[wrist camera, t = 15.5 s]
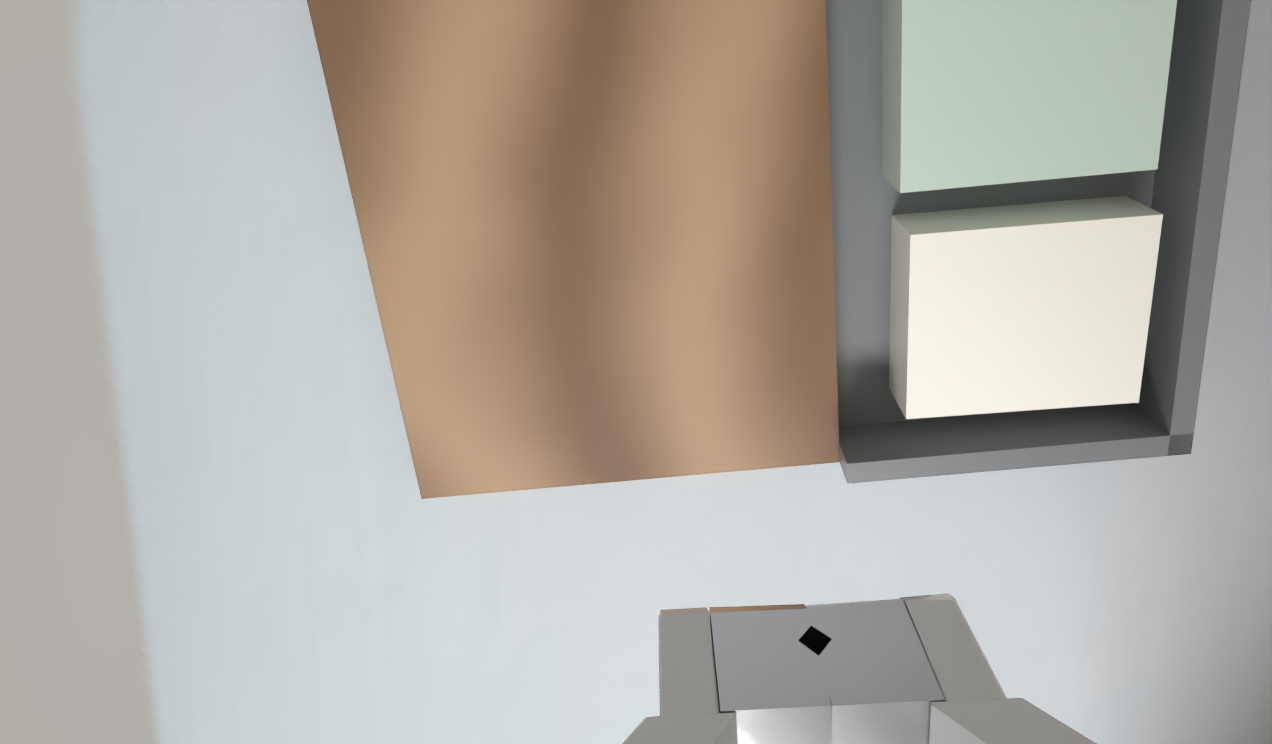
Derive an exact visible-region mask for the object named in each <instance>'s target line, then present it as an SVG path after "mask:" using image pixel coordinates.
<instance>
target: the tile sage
mask: <svg viewBox="0 0 1272 744" xmlns="http://www.w3.org/2000/svg"><path fill="white" fill-rule="evenodd" d="M1176 6H1177V0H882V176H883V177H884V178H885V179H886V180H887V181H888V182H889V183H890V184H891V185H892V186H893V187H894V188H895V189H896V190H897V191H898V192H900V193H907V192H918V191H929V190H940V189H951V188H961V187H972V186H983V185H994V184H1005V183H1015V182H1026V181H1037V180H1048V179H1059V178H1070V177H1080V176H1091V175H1102V174H1113V173H1124V172H1134V171H1145V170H1156V169H1158V161H1159V153H1160V144H1161V135H1162V127H1163V118H1164V109H1165V101H1166V92H1167V84H1168V75H1169V66H1170V58H1171V49H1172V40H1173V32H1174V23H1175V14H1176Z"/></svg>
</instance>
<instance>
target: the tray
mask: <svg viewBox="0 0 1272 744" xmlns="http://www.w3.org/2000/svg"><path fill="white" fill-rule="evenodd" d="M825 2H826V35H827V67H828V100H829V132H830V164H831V197H832V229H833V262H834V294H835V327H836V359H837V392H838V424H839V456H840V464H841V467H842V470H843V472H844V475H845V478H846V480H847V483H858V482H869V481H881V480H893V479H904V478H916V477H927V476H939V475H950V474H962V473H974V472H985V471H997V470H1008V469H1020V468H1031V467H1043V466H1054V465H1066V464H1078V463H1089V462H1101V461H1112V460H1124V459H1135V458H1147V457H1159V456H1170V455H1182V454H1191V449H1192V441H1193V434H1194V426H1195V419H1196V411H1197V404H1198V396H1199V389H1200V381H1201V374H1202V366H1203V358H1204V351H1205V343H1206V336H1207V328H1208V321H1209V313H1210V306H1211V298H1212V291H1213V283H1214V275H1215V268H1216V260H1217V253H1218V245H1219V238H1220V230H1221V223H1222V215H1223V208H1224V200H1225V192H1226V185H1227V177H1228V170H1229V162H1230V155H1231V147H1232V140H1233V132H1234V125H1235V117H1236V109H1237V102H1238V94H1239V87H1240V79H1241V72H1242V64H1243V57H1244V49H1245V42H1246V34H1247V27H1248V19H1249V11H1250V4H1251V0H1177V6H1176V14H1175V23H1174V32H1173V40H1172V49H1171V58H1170V66H1169V75H1168V84H1167V92H1166V101H1165V109H1164V118H1163V127H1162V135H1161V144H1160V153H1159V161H1158V169H1156V170H1145V171H1134V172H1124V173H1113V174H1102V175H1091V176H1080V177H1070V178H1059V179H1048V180H1037V181H1026V182H1015V183H1005V184H994V185H983V186H972V187H961V188H951V189H940V190H929V191H918V192H907V193H900V192H898V191H897V190H896V189H895V188H894V187H893V186H892V185H891V184H890V183H889V182H888V181H887V180H886V179H885V178H884V177H883V176H882V0H825ZM1115 196H1127V197H1129V198H1131V199H1133V200H1135V201H1137V202H1139V203H1141V204H1143V205H1145V206H1147V207H1149V208H1151V209H1153V210H1155V211H1157V212H1159V213H1161V214H1163V219H1162V227H1161V235H1160V243H1159V250H1158V258H1157V266H1156V273H1155V281H1154V289H1153V297H1152V304H1151V312H1150V320H1149V328H1148V335H1147V343H1146V351H1145V358H1144V366H1143V374H1142V382H1141V389H1140V397H1139V403H1126V404H1112V405H1098V406H1084V407H1070V408H1056V409H1042V410H1028V411H1014V412H1000V413H986V414H972V415H958V416H944V417H930V418H916V419H906V418H905V416H904V415H903V413H902V411H901V409H900V407H899V406H898V404H897V402H896V400H895V398H894V396H893V395H892V393H891V391H890V389H889V354H890V291H891V227H892V215H898V214H910V213H922V212H934V211H946V210H958V209H970V208H982V207H994V206H1007V205H1019V204H1031V203H1043V202H1055V201H1067V200H1079V199H1091V198H1103V197H1115Z"/></svg>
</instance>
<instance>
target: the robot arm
mask: <svg viewBox="0 0 1272 744" xmlns="http://www.w3.org/2000/svg"><path fill="white" fill-rule="evenodd" d="M709 615H710V616H709ZM659 683H660V716H656V717H646V718H645V719H644V720H643V721H642V722H641V723H640V724H639V725H638V727H637V728H636V729H635V730H634V731H633V732H632V733H631V734H630V736H629V737H628V738H627V739H626V740H625V741H624V742H623V743H622V744H1096V743H1095V742H1093V741H1091V740H1090V739H1088V738H1086V737H1085V736H1083V735H1082V734H1080V733H1078V732H1077V731H1075V730H1073V729H1072V728H1070V727H1068V726H1067V725H1065V724H1064V723H1062V722H1060V721H1059V720H1057V719H1055V718H1054V717H1052V716H1051V715H1049V714H1047V713H1046V712H1044V711H1042V710H1041V709H1039V708H1037V707H1036V706H1034V705H1033V704H1031V703H1029V702H1028V701H1026V700H1024V699H1023V698H1011V699H1007V698H1006V696H1005V694H1004V692H1003V690H1002V688H1001V686H1000V684H999V682H998V680H997V678H996V677H995V675H994V673H993V671H992V669H991V667H990V665H989V663H988V661H987V659H986V657H985V655H984V653H983V651H982V650H981V648H980V646H979V644H978V642H977V640H976V638H975V636H974V634H973V632H972V630H971V628H970V626H969V625H968V623H967V621H966V619H965V617H964V615H963V613H962V611H961V609H960V607H959V605H958V603H957V601H956V600H955V598H954V597H952V596H951V595H949V594H937V595H925V596H914V597H902V598H899V599H893V600H878V601H863V602H847V603H832V604H817V605H804V604H798V605H768V606H739V607H709V611H708V610H707V608H689V609H671V610H661V611H660V614H659Z"/></svg>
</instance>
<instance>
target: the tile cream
mask: <svg viewBox="0 0 1272 744" xmlns="http://www.w3.org/2000/svg"><path fill="white" fill-rule="evenodd" d="M1162 219H1163V214H1161V213H1159V212H1157V211H1155V210H1153V209H1151V208H1149V207H1147V206H1145V205H1143V204H1141V203H1139V202H1137V201H1135V200H1133V199H1131V198H1129V197H1127V196H1115V197H1103V198H1091V199H1079V200H1067V201H1055V202H1043V203H1031V204H1019V205H1007V206H994V207H982V208H970V209H958V210H946V211H934V212H922V213H910V214H898V215H892V227H891V291H890V354H889V389H890V391H891V393H892V395H893V396H894V398H895V400H896V402H897V404H898V406H899V407H900V409H901V411H902V413H903V415H904V416H905V418H906V419H916V418H930V417H944V416H958V415H972V414H986V413H1000V412H1014V411H1028V410H1042V409H1056V408H1070V407H1084V406H1098V405H1112V404H1126V403H1139V397H1140V389H1141V382H1142V374H1143V366H1144V358H1145V351H1146V343H1147V335H1148V328H1149V320H1150V312H1151V304H1152V297H1153V289H1154V281H1155V273H1156V266H1157V258H1158V250H1159V243H1160V235H1161V227H1162Z"/></svg>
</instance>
